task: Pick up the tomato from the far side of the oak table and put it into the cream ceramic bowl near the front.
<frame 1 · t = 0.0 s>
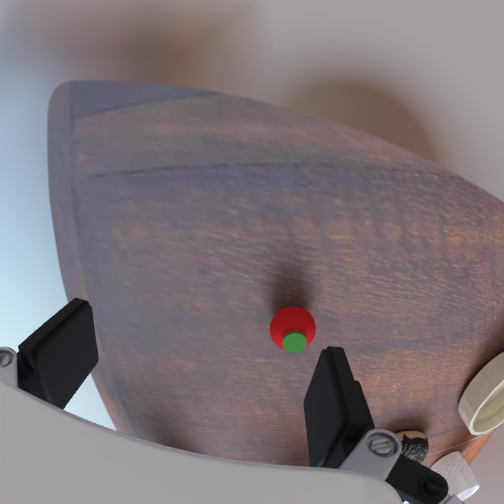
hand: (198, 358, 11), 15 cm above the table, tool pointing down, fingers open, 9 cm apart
white cup: (445, 460, 36), on the table
bowl: (490, 382, 29), on the table
tomato: (291, 317, 27), on the table
donut: (390, 449, 34), on the table
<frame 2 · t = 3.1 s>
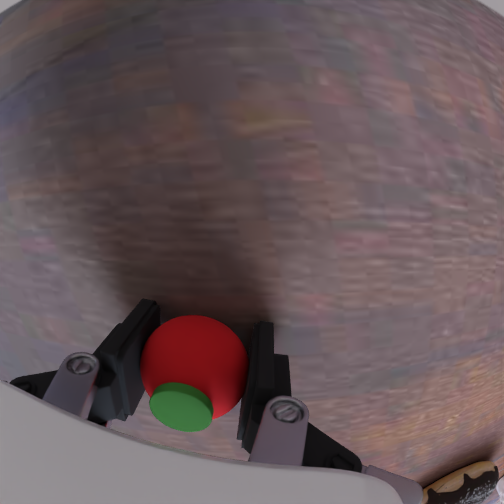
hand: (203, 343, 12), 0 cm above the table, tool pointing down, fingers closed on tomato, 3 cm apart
tomato: (204, 339, 12), on the table, touching gripper
donut: (444, 488, 17), on the table
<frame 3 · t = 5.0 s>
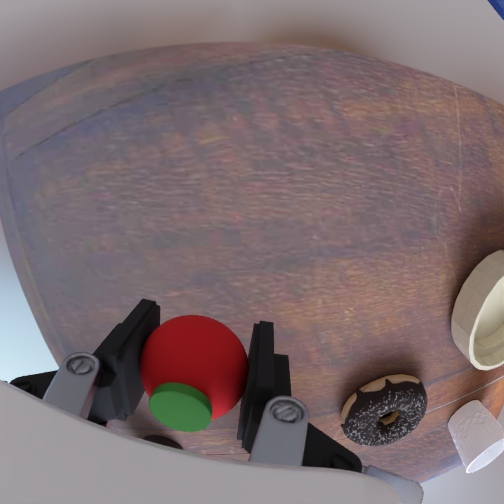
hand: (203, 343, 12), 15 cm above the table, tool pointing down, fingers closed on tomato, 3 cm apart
white cup: (463, 413, 32), on the table
bowl: (488, 301, 26), on the table
tomato: (204, 339, 12), point 14 cm above the table, touching gripper
donut: (381, 403, 31), on the table
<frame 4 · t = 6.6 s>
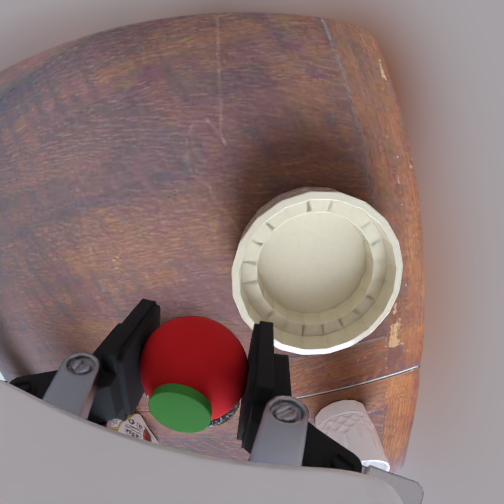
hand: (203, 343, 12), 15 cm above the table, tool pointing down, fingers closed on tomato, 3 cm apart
white cup: (340, 415, 32), on the table
bowl: (312, 260, 26), on the table
tomato: (203, 340, 12), point 15 cm above the table, touching gripper
juice carton: (132, 426, 35), on the table
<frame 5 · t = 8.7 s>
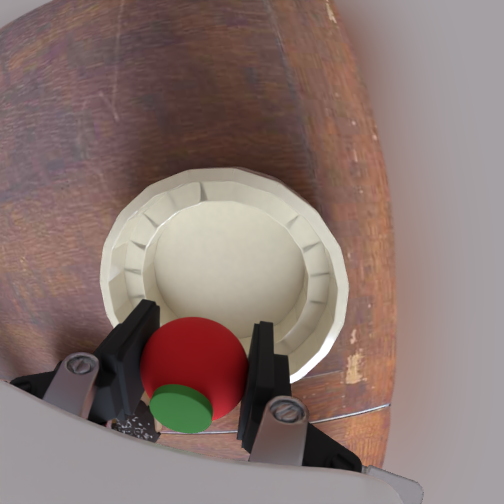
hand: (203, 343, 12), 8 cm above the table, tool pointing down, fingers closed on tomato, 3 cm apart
bowl: (228, 269, 19), on the table
tomato: (204, 340, 12), point 8 cm above the table, touching gripper
donut: (113, 395, 24), on the table
when the fingers open (3 cm above the table, at t = 10.5 s): tomato drops 2 cm, resting on bowl.
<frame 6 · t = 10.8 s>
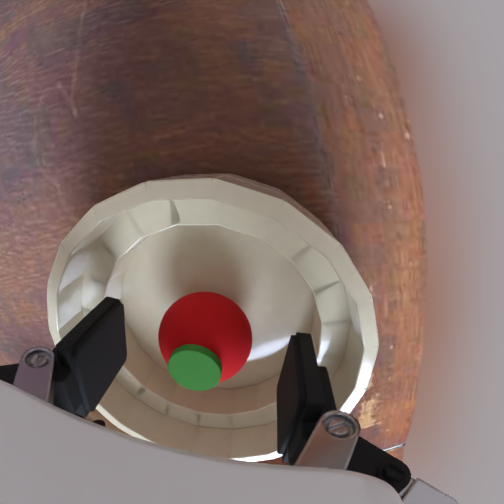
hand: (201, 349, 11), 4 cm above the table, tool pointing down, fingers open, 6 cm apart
bowl: (215, 307, 15), on the table
tomato: (212, 315, 14), point 1 cm above the table, touching bowl
donut: (93, 431, 20), on the table
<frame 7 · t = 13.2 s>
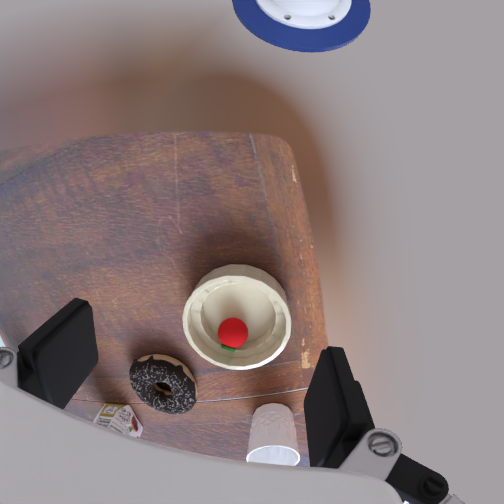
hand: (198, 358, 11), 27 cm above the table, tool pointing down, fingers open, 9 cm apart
white cup: (272, 414, 45), on the table
bowl: (239, 309, 40), on the table
tomato: (237, 318, 38), point 2 cm above the table, tilted 64°, touching bowl
juice carton: (124, 415, 48), on the table
donut: (167, 378, 44), on the table
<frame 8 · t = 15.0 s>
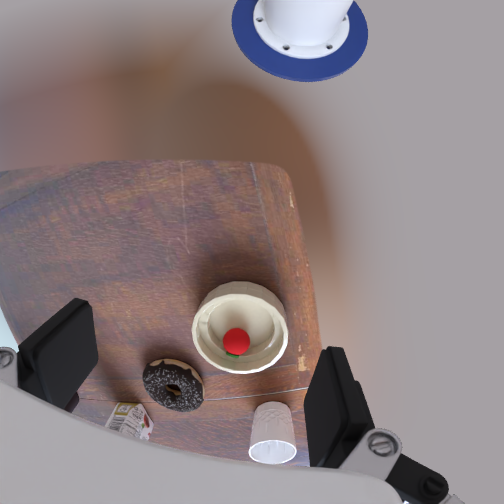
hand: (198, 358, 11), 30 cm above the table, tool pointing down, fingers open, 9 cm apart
white cup: (272, 411, 50), on the table
bowl: (242, 319, 44), on the table
tomato: (240, 328, 42), point 2 cm above the table, tilted 66°, touching bowl
juice carton: (136, 412, 53), on the table
donut: (176, 380, 49), on the table
bottle: (68, 391, 53), on the table
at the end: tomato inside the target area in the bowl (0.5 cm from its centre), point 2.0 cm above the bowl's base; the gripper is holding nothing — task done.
